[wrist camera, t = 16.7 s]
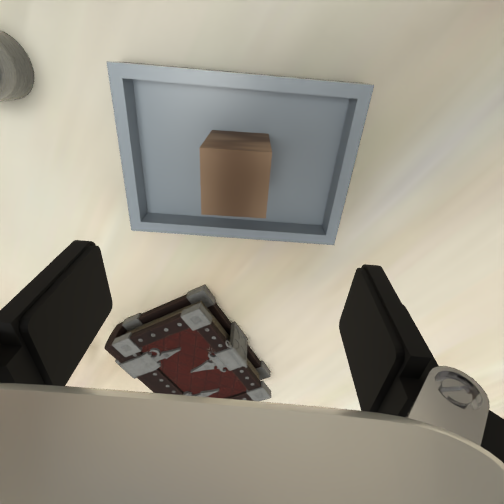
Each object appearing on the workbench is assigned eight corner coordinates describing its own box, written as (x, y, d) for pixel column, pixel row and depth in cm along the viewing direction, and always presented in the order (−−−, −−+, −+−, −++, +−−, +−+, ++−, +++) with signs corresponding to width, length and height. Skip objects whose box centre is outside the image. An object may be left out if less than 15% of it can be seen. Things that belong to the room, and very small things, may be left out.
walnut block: (268, 133, 27) (272, 152, 21) (263, 187, 29) (265, 218, 23) (212, 129, 27) (199, 147, 21) (212, 184, 29) (201, 214, 23)
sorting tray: (362, 83, 25) (374, 85, 23) (327, 231, 33) (333, 244, 30) (122, 62, 25) (106, 61, 22) (141, 217, 32) (131, 230, 30)
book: (207, 281, 37) (200, 310, 33) (290, 393, 48) (294, 425, 44) (114, 322, 41) (97, 352, 36) (212, 417, 52) (208, 449, 48)
